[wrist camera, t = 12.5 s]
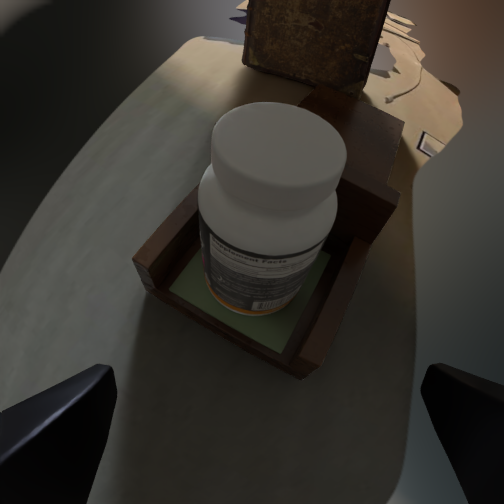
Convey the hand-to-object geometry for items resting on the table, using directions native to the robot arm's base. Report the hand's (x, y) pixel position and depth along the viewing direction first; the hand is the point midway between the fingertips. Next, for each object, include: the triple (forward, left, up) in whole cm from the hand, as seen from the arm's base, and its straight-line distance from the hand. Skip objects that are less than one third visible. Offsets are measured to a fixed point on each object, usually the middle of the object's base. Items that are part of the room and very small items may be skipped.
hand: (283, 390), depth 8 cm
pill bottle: (+8, -1, -8) cm, 11 cm away
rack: (+16, -8, -10) cm, 21 cm away
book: (+37, -13, -10) cm, 40 cm away
